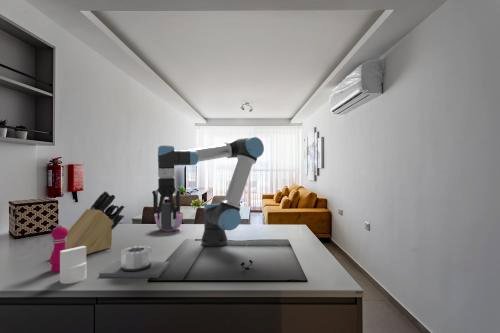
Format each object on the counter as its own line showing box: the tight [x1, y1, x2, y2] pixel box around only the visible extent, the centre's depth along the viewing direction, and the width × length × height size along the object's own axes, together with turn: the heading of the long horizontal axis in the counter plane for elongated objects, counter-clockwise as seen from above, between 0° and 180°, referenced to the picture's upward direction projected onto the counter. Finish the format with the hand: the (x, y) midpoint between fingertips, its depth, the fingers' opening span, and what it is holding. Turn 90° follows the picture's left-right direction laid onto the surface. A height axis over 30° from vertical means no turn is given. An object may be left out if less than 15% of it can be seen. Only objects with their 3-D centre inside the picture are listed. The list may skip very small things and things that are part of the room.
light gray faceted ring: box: [120, 245, 153, 272], centre depth 122 cm, size 12×12×8 cm
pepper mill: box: [49, 223, 69, 273], centre depth 124 cm, size 7×7×20 cm
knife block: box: [50, 190, 125, 256], centre depth 152 cm, size 11×35×31 cm, turn 155°
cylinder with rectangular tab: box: [59, 246, 88, 285], centre depth 113 cm, size 9×9×12 cm
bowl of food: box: [153, 211, 184, 233], centre depth 201 cm, size 20×20×12 cm
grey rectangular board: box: [98, 260, 171, 279], centre depth 122 cm, size 24×15×2 cm, turn 87°
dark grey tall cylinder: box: [161, 202, 173, 231], centre depth 137 cm, size 5×5×12 cm
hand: (167, 225), depth 137 cm, fingers closed on dark grey tall cylinder, 5 cm apart
